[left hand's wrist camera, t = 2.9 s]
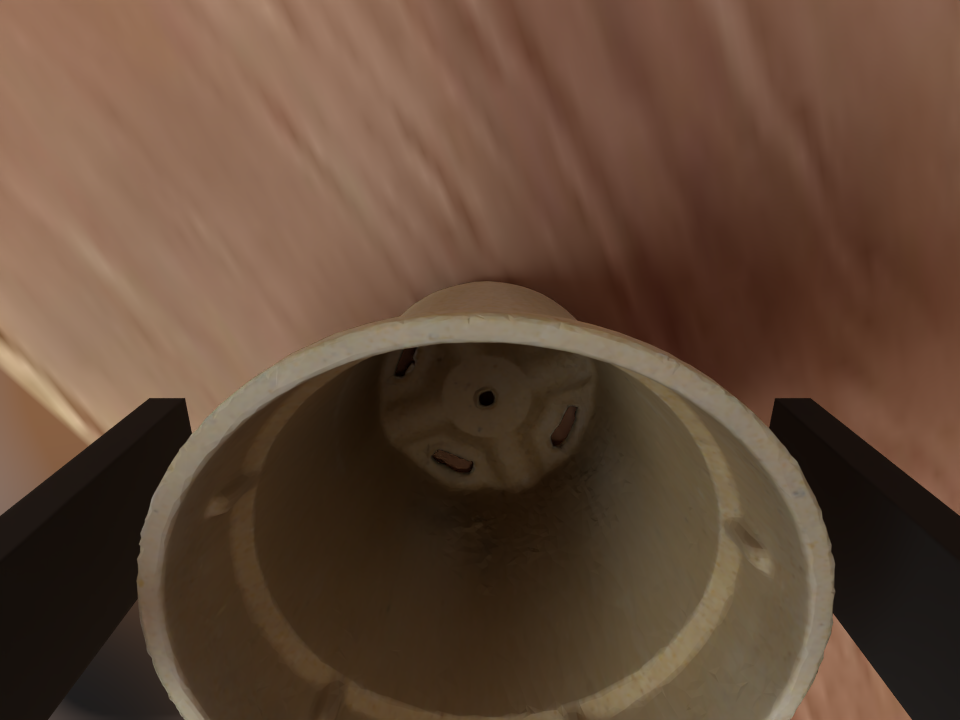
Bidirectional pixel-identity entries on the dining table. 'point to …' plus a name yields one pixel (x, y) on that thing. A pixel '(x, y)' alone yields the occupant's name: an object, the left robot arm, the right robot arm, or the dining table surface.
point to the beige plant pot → (484, 533)
